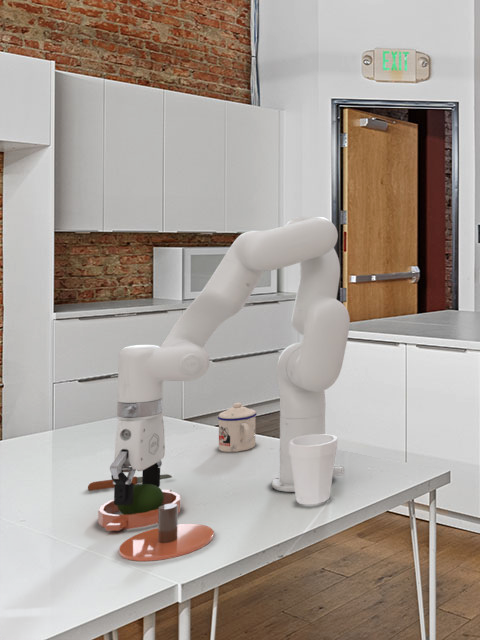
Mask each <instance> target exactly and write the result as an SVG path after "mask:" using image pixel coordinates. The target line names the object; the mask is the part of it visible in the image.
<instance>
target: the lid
mask: <svg viewBox="0 0 480 640" xmlns="http://www.w3.org/2000/svg"><path fill="white" fill-rule="evenodd" d="M178 515H179V513H178V505H177V504H162V505H161V506H160V507H159V508H158V523H157V527H156V528H152V529H148V530H146V531H142V532H139V533H137V534H135V535H133V536H131V537H129V538H128V539H126V540H124V541H123V542H122V543H121V544H120V546H119V548H118V553H119V556H120V557H122V559H123V558H124V559H125V560H129V561H135V562H153V561H161V560H167V559H172V558H177V557H180V556H184V555H187V554H190V553H193V552H196V551H198V550H200V549H202V548H203V547H205V546H207V545H208V544H209V543H210V542H212V541H213V539H214V537H215V531H214V530H213V528H212V527H210V526H208V525H206V524H205V525H204V524H198V523H179V524H178V520H179V519H178V517H179V516H178Z"/></svg>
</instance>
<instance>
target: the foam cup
mask: <svg viewBox="0 0 480 640" xmlns="http://www.w3.org/2000/svg"><path fill="white" fill-rule="evenodd" d="M337 451H338V436H336V435H334V434H329V433H325V434H312V435H305V436H300V437H296V438H294V439H292V440H290V442H289V454H290V458H291V465H292V473H293V480H294V487H295V492H294V495H295V501H296V502H297V504H298V505H299V504H300V505H306V506H307V505H309V506H310V505H318V504H322V503H324V502H326V503H325V504H327V503H329V501H330V497H331V490H332V482H333V476H334V475H333V469H334V465H335V461H336V455H337Z"/></svg>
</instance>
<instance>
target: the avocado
mask: <svg viewBox="0 0 480 640" xmlns="http://www.w3.org/2000/svg"><path fill="white" fill-rule="evenodd" d="M162 490H163V489H161V488H160V486H159V487H158V486H156V485H152V484H142V483H137V484H135V485H134V487H133V503H132V504H131V505H117V506H118V509H119V511H118V512H120V513H121V514H136V513H143V512H148V511H152V510H156V509H158V508H159V507H160V506H162V505H163V504H162V503H163V500H164V495H163V492H162Z"/></svg>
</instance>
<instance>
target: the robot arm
mask: <svg viewBox="0 0 480 640" xmlns="http://www.w3.org/2000/svg"><path fill="white" fill-rule="evenodd" d="M338 237H339V234H338V230H337V227H336V226H335V224H334V223H333V222H332V221H331V220H329V219H328V218H326V217H322V216H298V217H294V218H292V219H291V220H289V221H288V222H287V223H286V224H285V225H283V226H279V227H274V228H270V229H265V230H250V231H246V232H242V233H241V234H240V235H238V236H237V237H236V239H235V240H234V241H233V243H232V244H231V245H230V246H229V249H228V250H227V252H226V253H225V254H224V256H223V258H222V260H220V263H219V264H218V266H217V267H216V269H215V271H214V272H213V274H212V275H211V276H210V278H209V280H208V281H207V283H206V284H205V286H204V287H203V289H202V290H201V292H199V294H198V295H197V296H196V297H195V298H194V299H193V300H192V302H191V303H190V304H189V305H188V307H186V309H185V310H184V312H183V313H182V314H181V315H180V316H179V318H178V319H177V320H176V322H174V325H173V326H172V328H171V330H170V331H169V333H168V334H167V336H166V337H165V339H164V341H163V342H162V344H161V346H159V345H157V344H135V345H129V346H128V345H127V346H125V347H123V348H122V349H121V350H120V351H119V355H118V370H117V372H118V373H117V411H116V412H117V413H116V419H117V420H118V423H117V427H116V433H115V443H114V460H113V461H112V463H111V464H110V466H109V471H110V474H111V476H110V477H111V480H113V485H114V487H113V488H114V489H113V490H114V491H113V499H114V504H115V505H131V504H132V503H133V487H134V483H131V481H132V479H133V477H135V473H136V472H142V476H141V477H142V483H141V484H152V485H156V486H158V487H159V488H160V486H161V480H160V475H161V467H162V465H163V463H162V460H163V459H164V457H165V456H166V455H165V454H166V452H165V451H166V449H165V448H166V439H165V438H166V437H165V425H164V422H165V421H164V416H163V393H164V390H163V389H164V382H191V381H195V380H197V379H199V378H201V377H202V376H204V375H205V374H206V372H207V371H208V369H209V367H210V363H211V362H210V360H211V359H210V356H209V353H208V352H207V351H206V350H205V348H204V347H205V345H206V344H207V343H208V341H209V339H210V337H211V336H212V335H213V333H214V332H215V331H216V330H217V329H218V328H219V327H220V326H221V325H222V324H223V323H224V322H225V321H227V320H228V319H230V318H232V317H233V316H235V315H237V313H239V312H240V311H241V310H242V309H243V308H244V307H245V305H246V303H247V301H248V300H249V299H250V297H251V295H252V294H253V292H254V290H255V289H256V287H257V285H258V284H259V282H260V280H261V279H262V278H263V276H264V274H265V272H270V271H275V270H279V269H283V268H286V267H289V266H293V265H296V264H299V269H300V271H299V279H298V280H299V281H298V286H297V291H296V295H295V300H294V305H293V309H292V314H291V324H292V328H293V329H294V330H295V331H296V332H297V333H298V334H299V335H301V336H303V337H302V341H300V342H294V343H292V344H290V345H288V346H287V347H285V348H284V349H283V350H282V352H280V354H279V357H278V360H277V363H276V364H277V365H276V375H277V384H278V392H279V475H277V476H275V477H274V478H273V479H272V481H271V487H272V489H274V490H276V491H279V492H285V493H295V487H294V480H293V473H292V465H291V458H290V454H289V442H290V440H292V439H294V438H296V437H300V436H305V435H312V434H326V392H325V391H326V390H328V389H330V388H331V387H332V386H333V385H334V384H335V383H336V382H337V380H338V378H339V376H340V375H341V371H342V367H343V362H344V359H345V354H346V349H347V343H348V338H349V332H350V325H351V321H350V319H351V318H350V313H349V311H348V309H347V307H346V306H345V305H344V303H343V302H342V301H340V300H338V299H337V298H338V293H339V285H340V278H341V265H340V259H339V257H338V256H339V255H338V254H337V251H336V249H335V246H336V244H337V242H338ZM125 473H127V475H126V474H125ZM344 473H345V468H344V466H342V464H334V469H333V476H334V477H343V476H344Z"/></svg>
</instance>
